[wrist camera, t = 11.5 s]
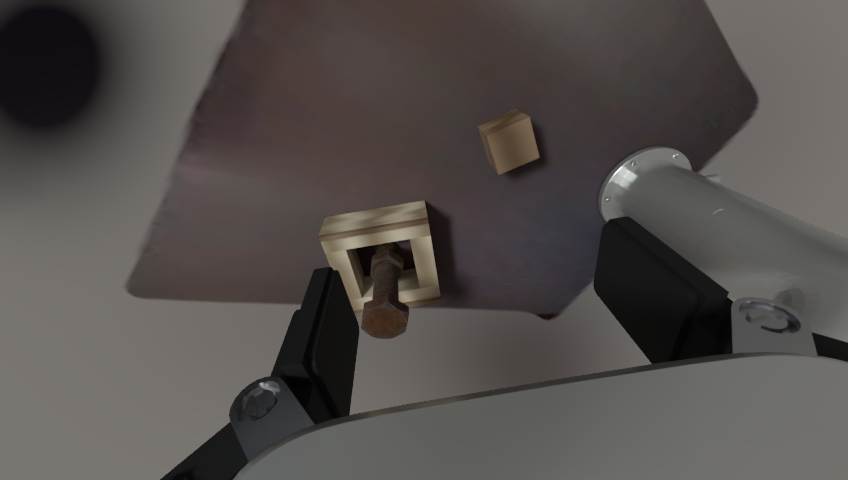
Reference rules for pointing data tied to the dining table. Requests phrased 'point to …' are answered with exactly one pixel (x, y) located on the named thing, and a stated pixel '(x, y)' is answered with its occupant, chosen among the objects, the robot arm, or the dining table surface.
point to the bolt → (385, 296)
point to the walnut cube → (509, 141)
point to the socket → (380, 228)
